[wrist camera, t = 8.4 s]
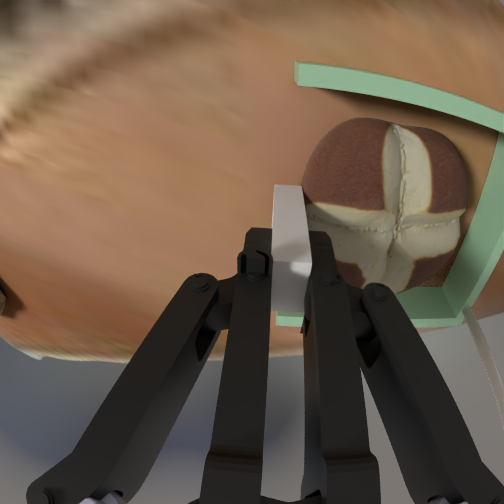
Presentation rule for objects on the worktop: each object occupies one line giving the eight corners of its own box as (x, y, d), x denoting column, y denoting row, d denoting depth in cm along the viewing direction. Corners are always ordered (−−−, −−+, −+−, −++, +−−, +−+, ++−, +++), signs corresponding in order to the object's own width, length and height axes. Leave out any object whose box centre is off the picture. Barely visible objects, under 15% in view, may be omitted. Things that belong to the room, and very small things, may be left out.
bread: (285, 262, 22) (286, 315, 18) (310, 98, 15) (323, 117, 11) (421, 275, 22) (441, 322, 18) (473, 140, 15) (518, 172, 11)
